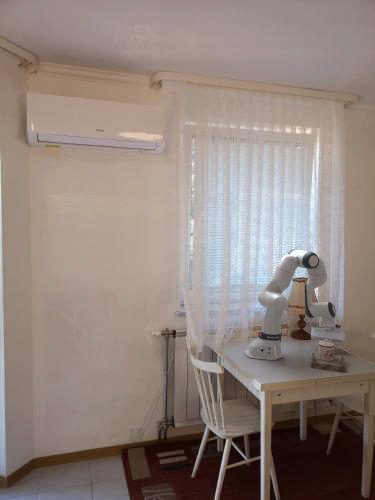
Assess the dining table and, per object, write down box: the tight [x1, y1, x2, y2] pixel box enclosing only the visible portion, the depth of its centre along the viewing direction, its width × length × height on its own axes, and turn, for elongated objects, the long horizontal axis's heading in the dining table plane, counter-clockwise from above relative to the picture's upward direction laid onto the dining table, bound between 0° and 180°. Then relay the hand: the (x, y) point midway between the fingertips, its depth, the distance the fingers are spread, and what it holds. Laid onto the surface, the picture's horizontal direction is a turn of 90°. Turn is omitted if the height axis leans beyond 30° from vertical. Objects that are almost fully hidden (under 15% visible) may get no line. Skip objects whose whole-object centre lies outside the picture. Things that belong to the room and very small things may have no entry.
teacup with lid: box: [317, 339, 337, 362], centre depth 217 cm, size 12×9×12 cm
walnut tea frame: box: [310, 352, 346, 373], centre depth 207 cm, size 17×18×3 cm
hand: (327, 346), depth 226 cm, fingers closed
